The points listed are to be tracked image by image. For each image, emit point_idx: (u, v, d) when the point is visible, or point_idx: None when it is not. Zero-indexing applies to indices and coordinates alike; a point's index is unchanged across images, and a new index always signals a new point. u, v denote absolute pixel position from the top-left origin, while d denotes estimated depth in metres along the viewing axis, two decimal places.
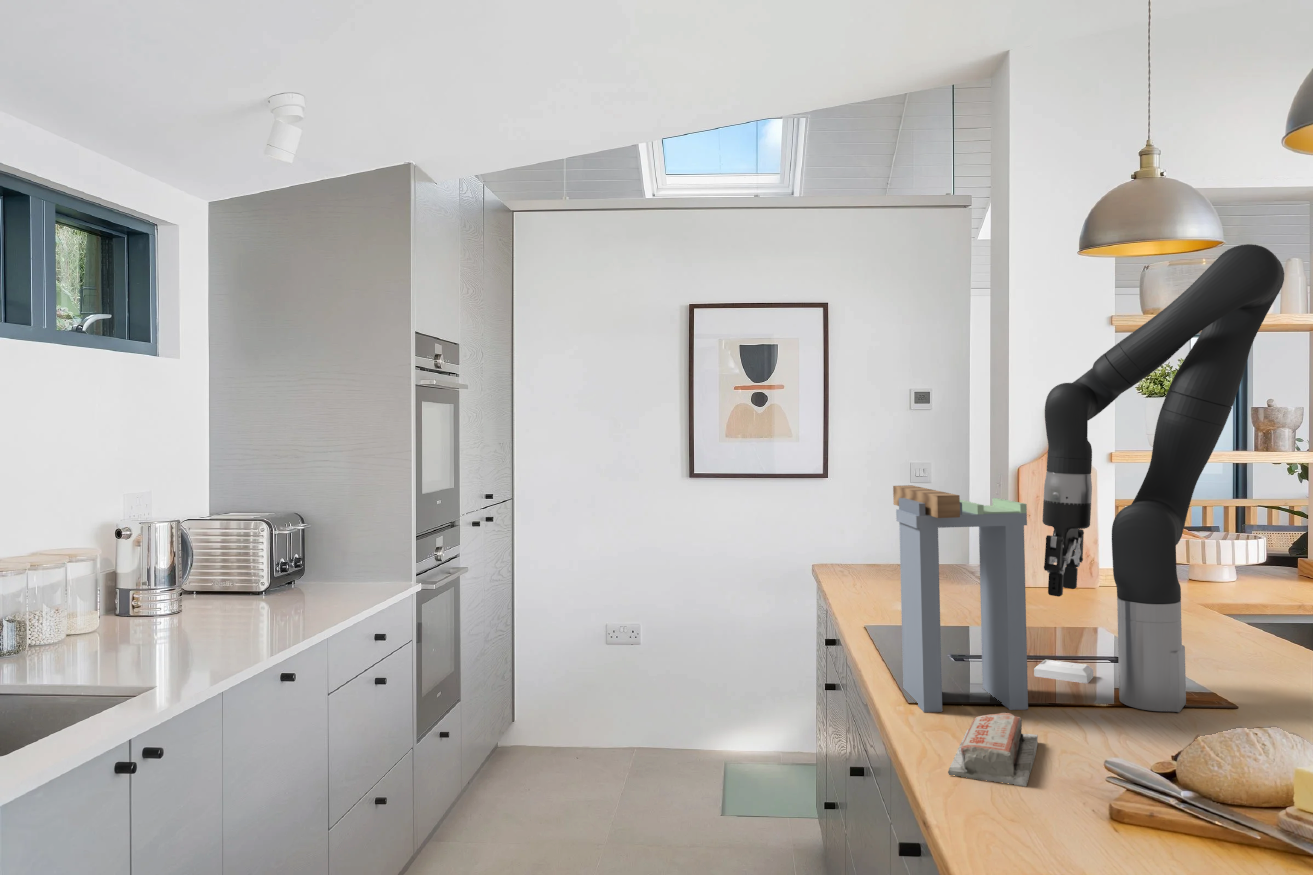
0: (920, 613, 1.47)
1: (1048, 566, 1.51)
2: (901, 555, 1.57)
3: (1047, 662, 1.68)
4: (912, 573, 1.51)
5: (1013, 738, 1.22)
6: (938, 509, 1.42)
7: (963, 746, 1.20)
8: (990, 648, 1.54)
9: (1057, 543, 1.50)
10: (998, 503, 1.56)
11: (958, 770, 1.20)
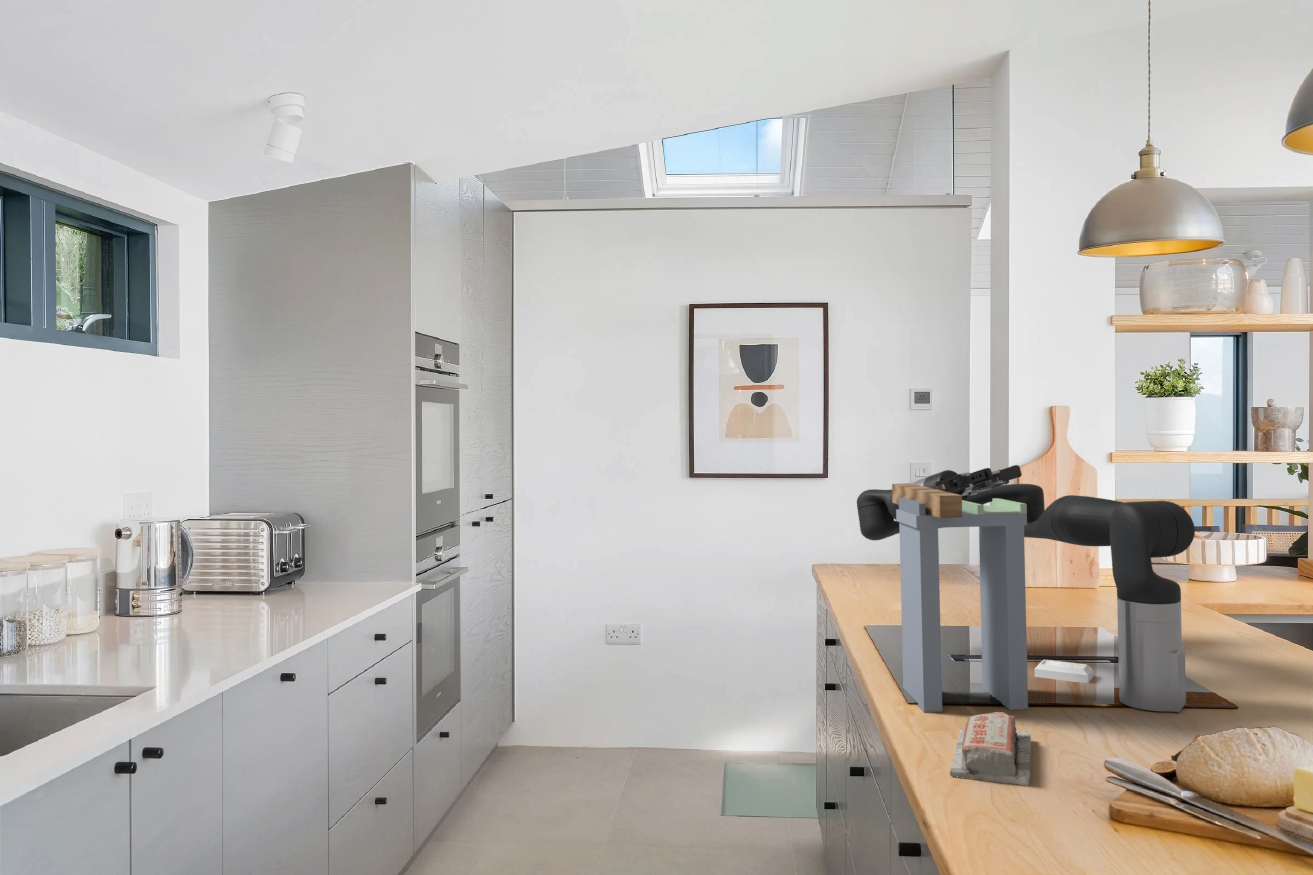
0: (920, 613, 1.47)
1: (958, 485, 1.61)
2: (901, 555, 1.57)
3: (1046, 662, 1.68)
4: (912, 573, 1.51)
5: (1012, 737, 1.22)
6: (940, 509, 1.42)
7: (964, 747, 1.20)
8: (990, 648, 1.54)
9: (939, 484, 1.64)
10: (998, 503, 1.56)
11: (960, 771, 1.19)
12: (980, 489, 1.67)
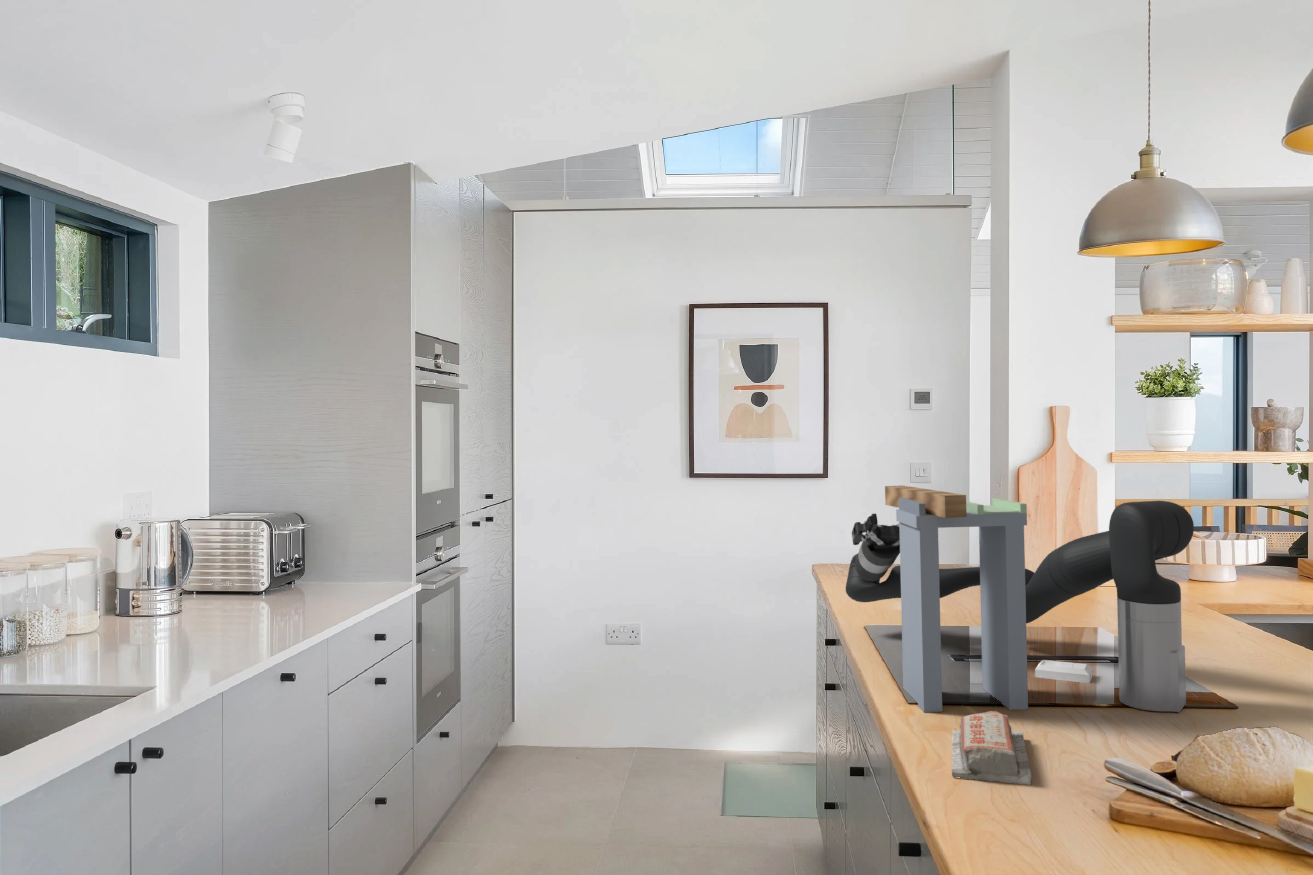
0: (920, 613, 1.47)
1: (856, 531, 1.76)
2: (901, 555, 1.57)
3: (1046, 662, 1.68)
4: (912, 573, 1.51)
5: (1010, 737, 1.23)
6: (945, 509, 1.42)
7: (966, 747, 1.20)
8: (990, 648, 1.54)
9: (852, 534, 1.80)
10: (998, 503, 1.56)
11: (962, 772, 1.19)
12: (899, 538, 1.78)
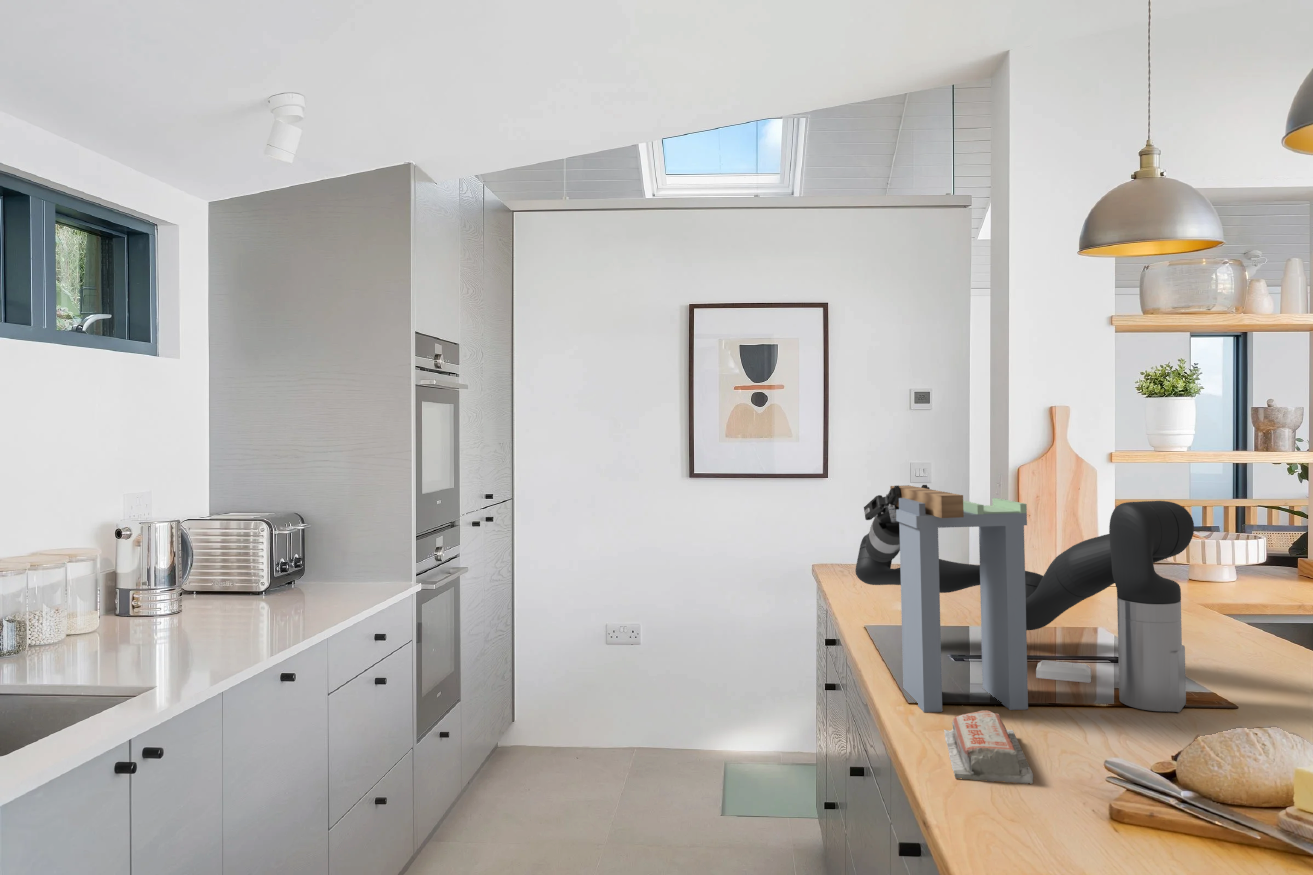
0: (920, 613, 1.47)
1: (877, 505, 1.66)
2: (901, 555, 1.57)
3: (1045, 663, 1.67)
4: (912, 573, 1.51)
5: (1008, 736, 1.23)
6: (942, 509, 1.42)
7: (967, 748, 1.20)
8: (990, 648, 1.54)
9: (865, 508, 1.70)
10: (998, 503, 1.56)
11: (965, 773, 1.19)
12: None
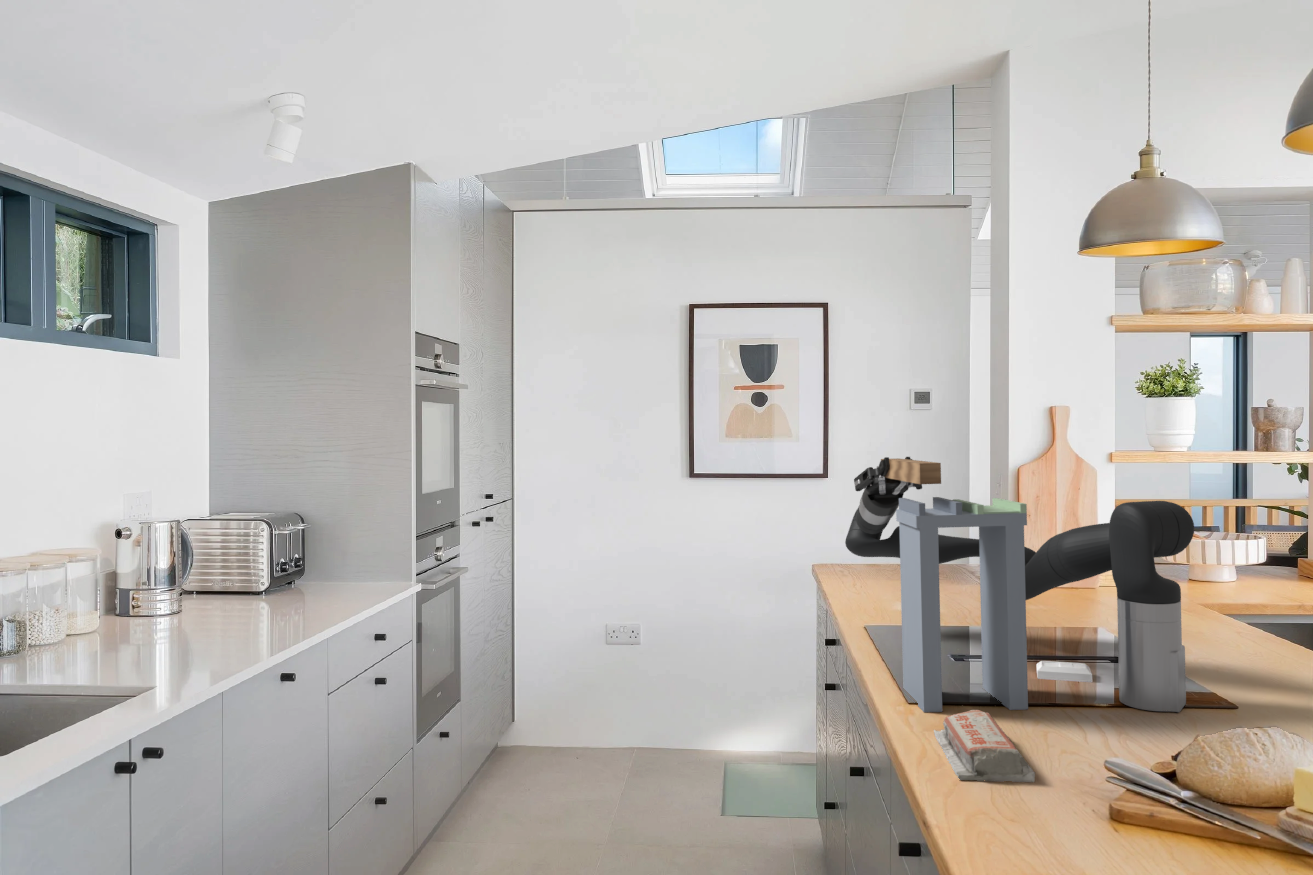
0: (920, 613, 1.47)
1: (868, 477, 1.75)
2: (901, 555, 1.57)
3: (1044, 663, 1.67)
4: (912, 573, 1.51)
5: (1005, 735, 1.24)
6: (920, 476, 1.51)
7: (970, 749, 1.19)
8: (990, 648, 1.54)
9: (856, 480, 1.78)
10: (998, 503, 1.56)
11: (968, 774, 1.18)
12: (895, 487, 1.77)
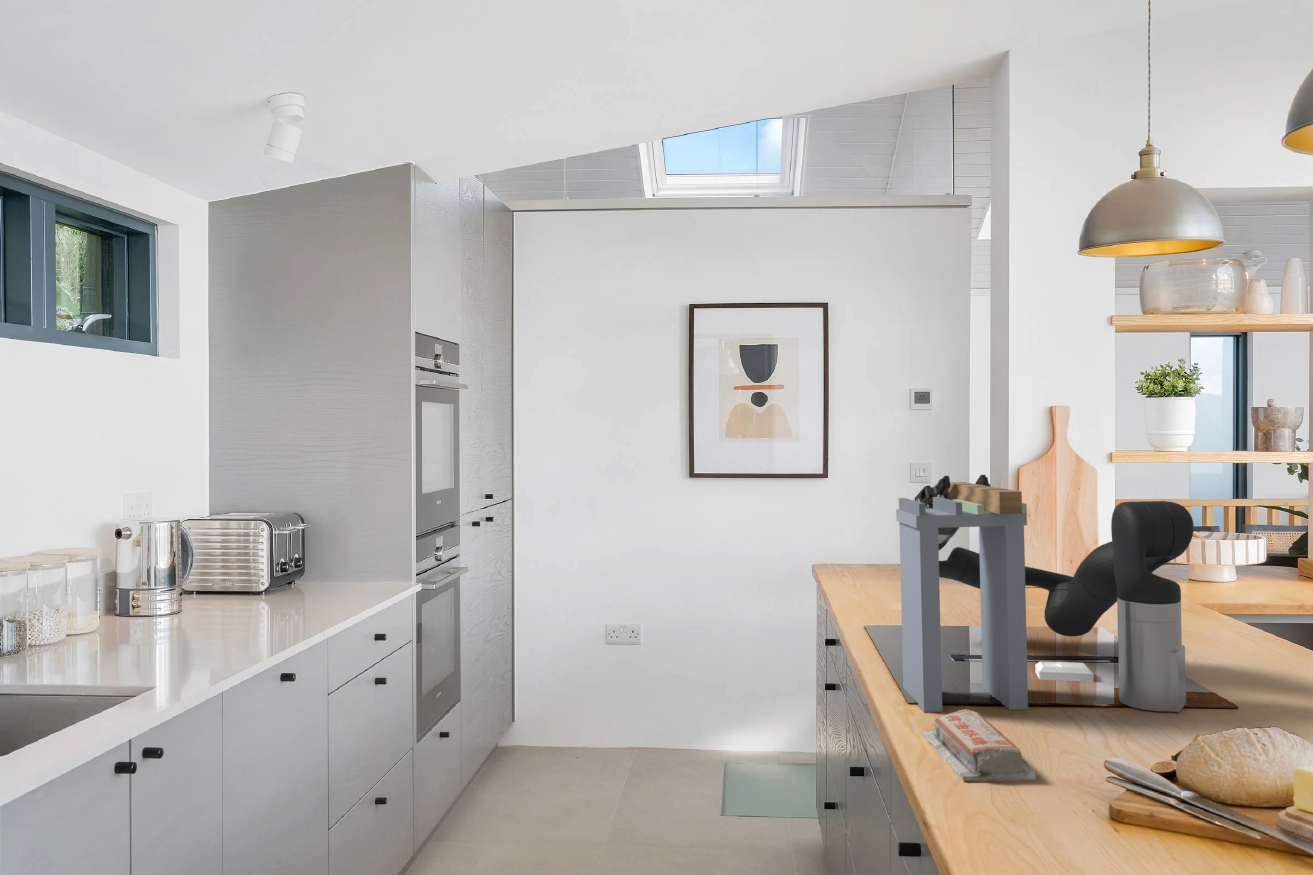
0: (920, 613, 1.47)
1: (925, 496, 1.67)
2: (901, 555, 1.57)
3: (1044, 664, 1.67)
4: (912, 573, 1.51)
5: (1002, 734, 1.24)
6: (1000, 505, 1.43)
7: (972, 749, 1.19)
8: (990, 648, 1.54)
9: (916, 499, 1.71)
10: None
11: (972, 775, 1.18)
12: None
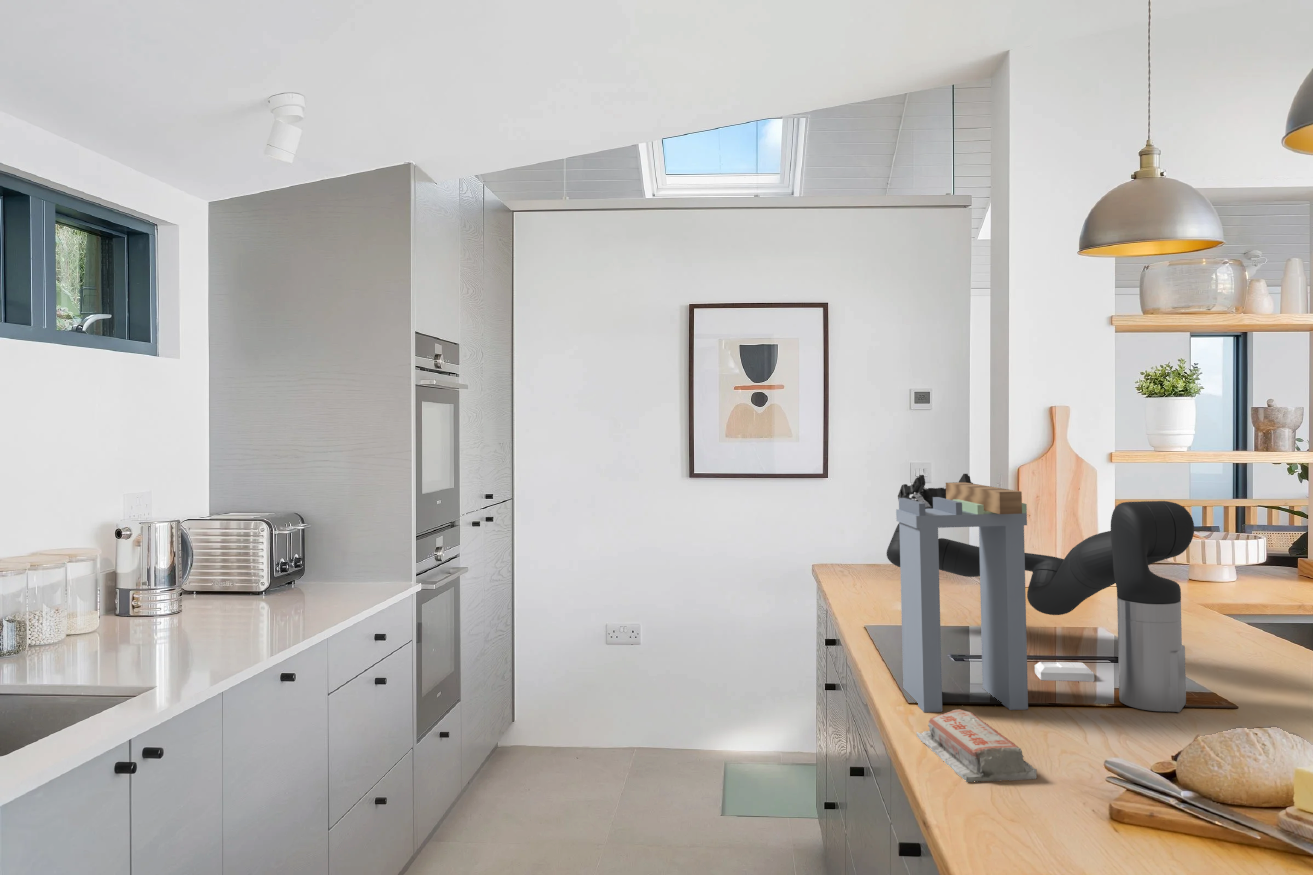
0: (920, 613, 1.47)
1: (903, 493, 1.79)
2: (901, 555, 1.57)
3: (1044, 664, 1.66)
4: (912, 573, 1.51)
5: (999, 733, 1.24)
6: (1000, 505, 1.43)
7: (974, 750, 1.19)
8: (990, 648, 1.54)
9: (898, 497, 1.83)
10: None
11: (975, 775, 1.18)
12: None
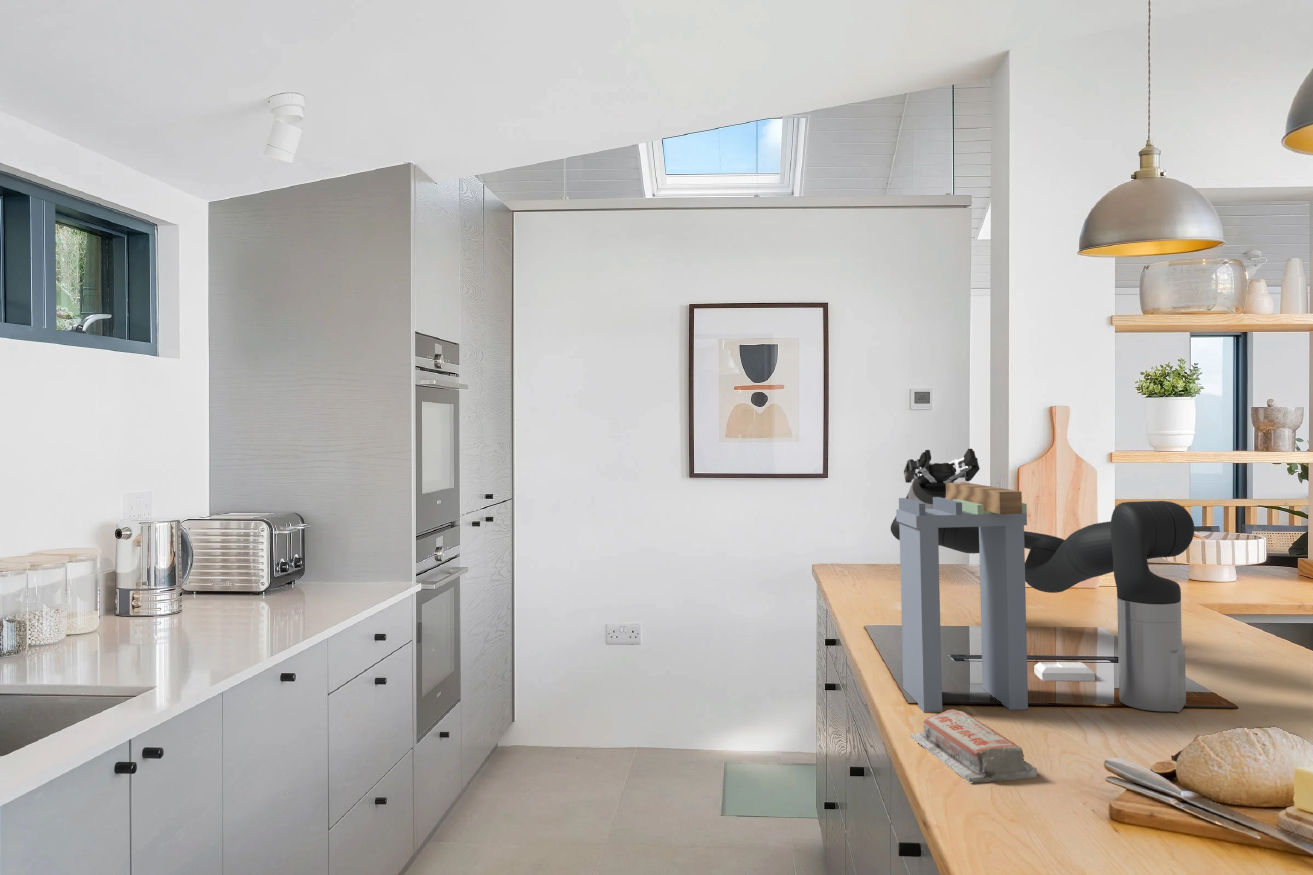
0: (920, 613, 1.47)
1: (909, 468, 1.84)
2: (901, 555, 1.57)
3: (1044, 664, 1.66)
4: (912, 573, 1.51)
5: (997, 733, 1.24)
6: (1000, 505, 1.43)
7: (976, 750, 1.19)
8: (990, 648, 1.54)
9: (904, 472, 1.88)
10: None
11: (977, 776, 1.18)
12: (950, 475, 1.85)
